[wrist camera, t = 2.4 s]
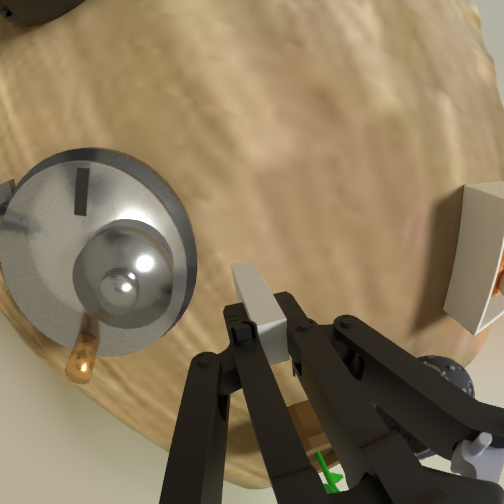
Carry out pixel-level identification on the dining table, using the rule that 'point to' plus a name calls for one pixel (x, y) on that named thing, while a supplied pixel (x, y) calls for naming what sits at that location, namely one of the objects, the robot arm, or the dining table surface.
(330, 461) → the flowerpot
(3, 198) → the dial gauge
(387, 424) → the dark decorated bowl
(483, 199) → the parts crate
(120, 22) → the dining table surface
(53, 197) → the turntable
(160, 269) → the cover
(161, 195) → the turntable base
